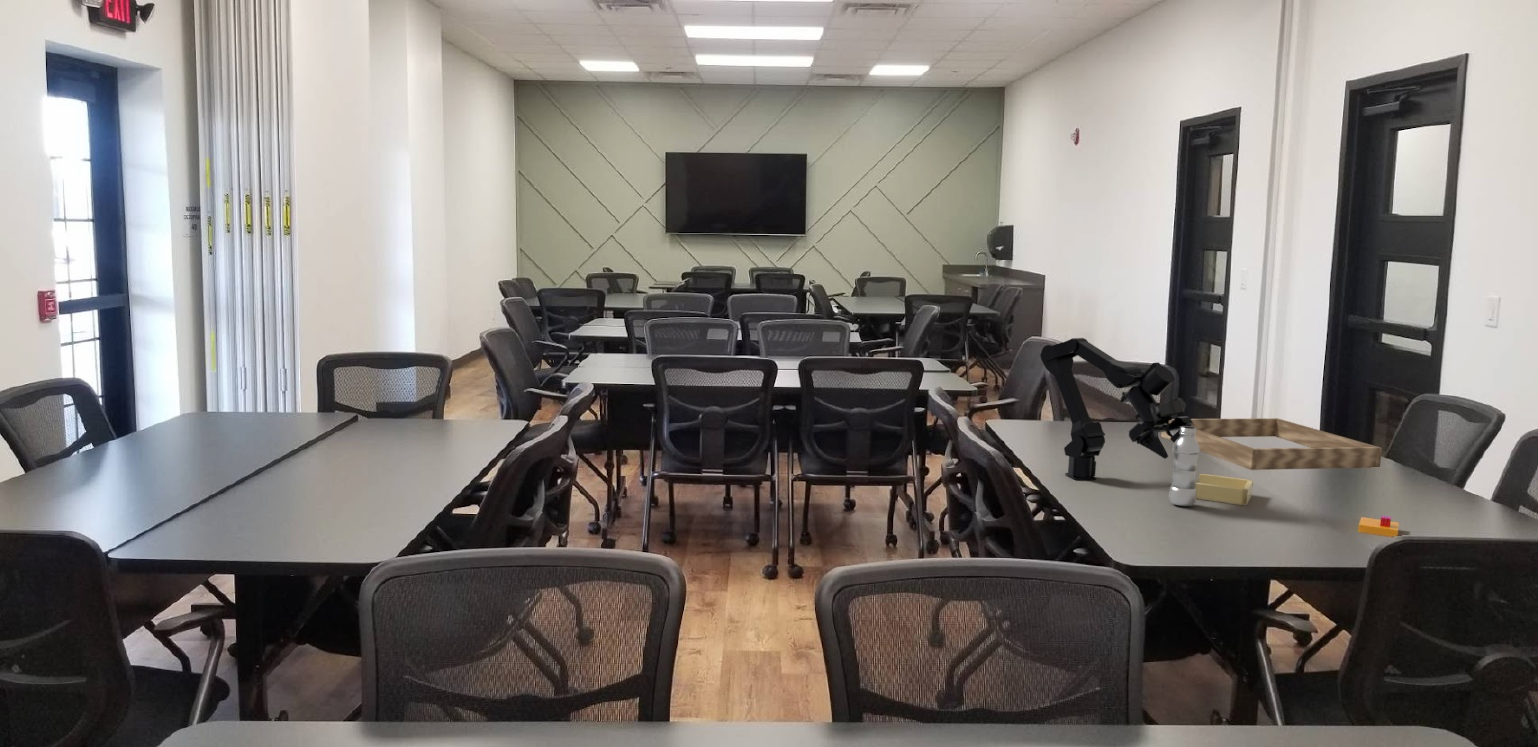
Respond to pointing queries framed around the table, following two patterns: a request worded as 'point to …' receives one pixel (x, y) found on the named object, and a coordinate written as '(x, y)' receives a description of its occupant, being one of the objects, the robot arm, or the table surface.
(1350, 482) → the table surface
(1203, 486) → the bay
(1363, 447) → the frame
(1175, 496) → the plastic bottle
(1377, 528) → the orange block
